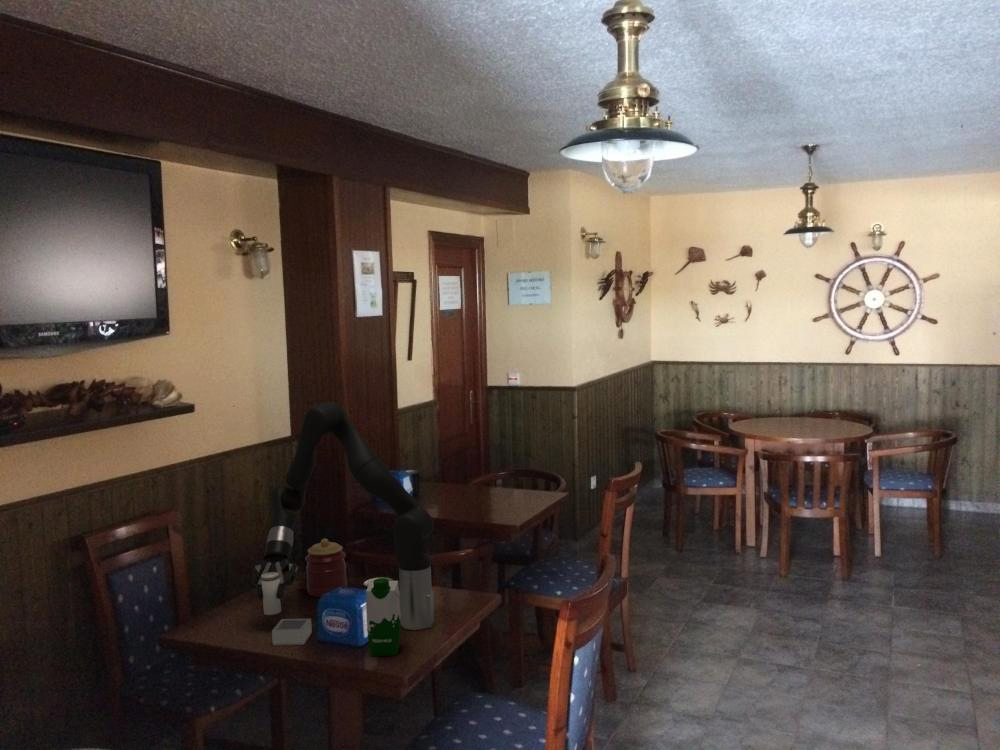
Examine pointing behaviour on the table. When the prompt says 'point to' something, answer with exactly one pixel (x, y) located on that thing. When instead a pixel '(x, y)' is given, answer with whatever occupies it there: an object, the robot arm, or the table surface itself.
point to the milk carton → (383, 617)
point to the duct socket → (291, 632)
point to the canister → (325, 568)
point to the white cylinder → (270, 593)
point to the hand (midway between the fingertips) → (269, 597)
